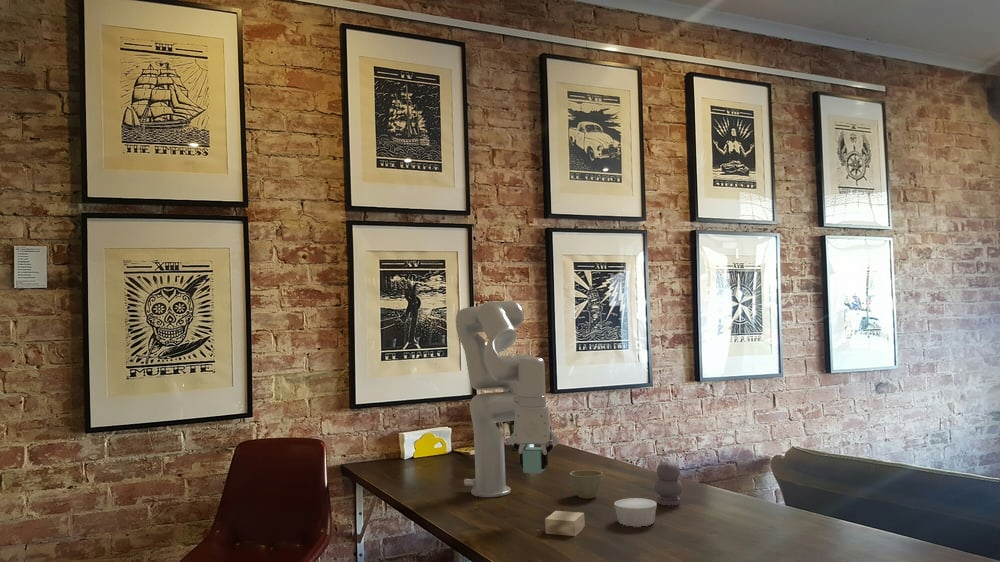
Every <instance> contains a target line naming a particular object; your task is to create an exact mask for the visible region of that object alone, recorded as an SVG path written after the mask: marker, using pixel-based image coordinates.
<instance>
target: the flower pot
mask: <svg viewBox="0 0 1000 562" xmlns="http://www.w3.org/2000/svg"><path fill="white" fill-rule="evenodd" d="M603 475H604V474H603V472H602V471H600V470H593V469H581V470H580V469H579V470H573V471H570V472H569V477H570V481H571V484H572V487H573V490H574V491H575V493H576V495H577V497H579V498H580V499H595V497H596V496H597V495H598V492H599V490H600V488H601V485H602V481H603Z"/></svg>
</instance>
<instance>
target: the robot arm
mask: <svg viewBox="0 0 1000 562" xmlns="http://www.w3.org/2000/svg"><path fill="white" fill-rule="evenodd" d="M523 321H524V312H523V309H522V307H521V305H520V304H519V303H518V302H516V301H515V300H514V301H513V300H503V301H502V300H501V301H488V302H485V303H483V304H481V305H480V306H478V305H477V306H469V307H465V308H464V307H463V308H462V309H459V311H458V312H457V314H456V317H455V329H456V333H457V337H458V339H459V340H460V343H461V345H462V348H463V350H464V355H465V361H466V366H467V372H468V377H469V383H470V385H471V387H472V389H474V390H477V391H489V390H500V389H501V390H502V391H499V392H498V391H496V392H494V391H493V392H483V393H479V394H476V395H474V396H473V397H472V399H471V400H470V402H469V412H470V415H471V417H470V418H471V423H472V429H473V443H474V444H473V445H474V466H475V467H474V468H475V473H474V474H475V478H473V479H470V478H464V480H463V485H464V486H465V487H472V488H471V491H470V492H471V493H470V494H471V495H472V496H475V497H478V496H479V497H478V498H497V497H503V496H507V495H509V494H510V493H511V487H510V486H508V485H507V482H506V461H505V460H506V458H505V438H504V435H503V432H502V431H501V429H500V428H499V427H498V426H497V423H503V422H513V432H512V433H511V435H510V436H509V437H508V439H507V442H508V443H509V444H510V445H511V446H513V448H514V449H515V450H516V451H517V453H518V454H519V464H520V465H521V469H523V450H524V449H525V448H527V445H540V447H541V449H542V455H541V463H542V469H545V470H546V468H547V466H548V465H549V453H550V452H551V451H552V450H553V448H554V447H556V446H557V445H558V444H559V443H560V441H561V440H559V438H558V437H557V436H556V434H555V433H554V432H553V429H552V419H551V415H550V408H549V406H547V401H546V396H547V395H546V368H545V366H546V365H545V360H544V359H543V357H542V358H541V357H537V356H534V355H533V354H520V355H519V354H517V355H502V356H501V355H499V353H501V352H503V351H505V350H506V349H509V348H510V347H511V346H512V345H514V343H515V341H516V339H517V330H516V329H517V328H519V327H520V326H521V325H522V324H523ZM479 333H485V335H486V337H487V339H488V341H487V340H486V339H485V338H483V336H481V335H480V334H479ZM551 441H552V442H551ZM549 442H551V443H550V444H548V443H549Z"/></svg>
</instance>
